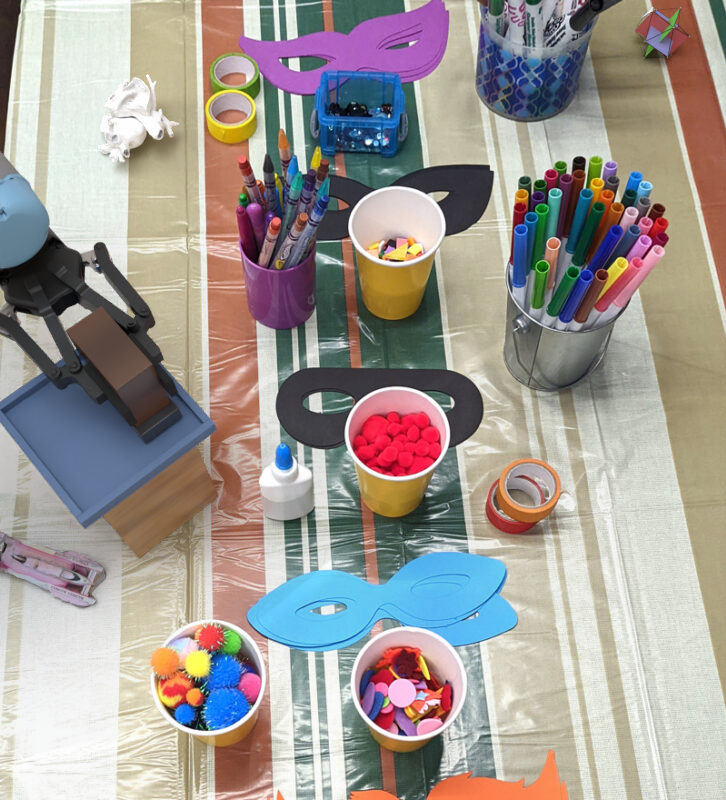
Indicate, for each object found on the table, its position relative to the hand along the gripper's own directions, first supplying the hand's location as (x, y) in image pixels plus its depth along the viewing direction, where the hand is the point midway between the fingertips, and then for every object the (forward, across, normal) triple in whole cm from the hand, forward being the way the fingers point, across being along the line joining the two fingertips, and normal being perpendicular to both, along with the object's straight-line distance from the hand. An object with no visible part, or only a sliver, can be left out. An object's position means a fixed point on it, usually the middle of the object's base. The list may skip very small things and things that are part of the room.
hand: (151, 403), depth 82 cm
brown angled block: (-5, 0, -7) cm, 9 cm away
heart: (-51, -26, -28) cm, 64 cm away
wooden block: (-5, +4, -28) cm, 28 cm away
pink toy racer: (-5, +19, -28) cm, 34 cm away
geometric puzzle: (-13, -96, -28) cm, 100 cm away
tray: (-5, +4, -8) cm, 10 cm away
